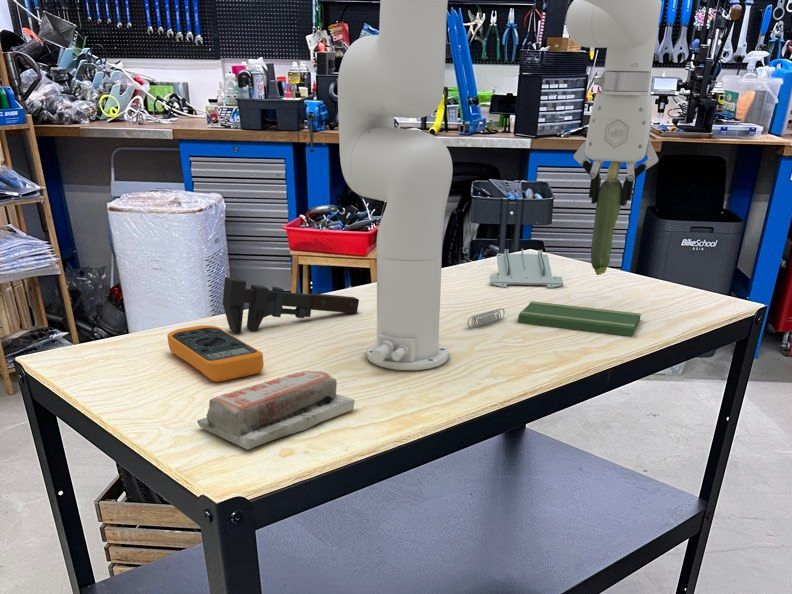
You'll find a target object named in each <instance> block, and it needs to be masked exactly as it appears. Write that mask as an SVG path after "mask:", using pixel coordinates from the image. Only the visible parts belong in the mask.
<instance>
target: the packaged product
mask: <svg viewBox="0 0 792 594" xmlns="http://www.w3.org/2000/svg"><path fill="white" fill-rule="evenodd" d="M337 383H338V382H337V379H336V378H334V377H333V376H331V375H330V374H329V373H328V372H326V371H322V370H321V371H320V370H319V371H314V370H313V371H312V370H303V371H298V372H295V373H291V374H286V375H285V376H281V377H277V378H274V379H271V380H267V381H264V382H260V383H256V384H254V385H250V386H247V387H243V388H241V389H237V390H234V391H231V392H226V393H223V394H220V395H217V396H214V397H212V398H211V399H209V405H208V409H207V413H206V415H205V416H206V417H203V418H200V419H198V420H197V425H198V426H199V427H200V428H201V429H203V430H205V431H207V432H209V433H212V434H214V435H215V436H218V437H219V438H221V439H223V440H226V441H228V442H230V443H232V444H234V445H237V446H238V447H240V448H243V449H244V450H247V451H249V450H251V449H253V448H256V447H258V446H262V445H264V444H266V443H270V442H272V441H274V440H277V439H280V438H283V437H286V436H289V435H292V434H296V433H299V432H302V431H306V430H308V429H310V428H312V427H314V426H315V425H317V424H319V423H321V422H324V421H327V420H330V419H332V418H335V417H338V416H340V415H343V414H346V413H349V412H351V411H353V410H354V406H355V401H356V400H355V399H353V398H351V397H347V396H344V395H342V394H337V385H338V384H337Z"/></svg>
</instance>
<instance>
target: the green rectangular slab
mask: <svg viewBox="0 0 792 594" xmlns="http://www.w3.org/2000/svg"><path fill="white" fill-rule="evenodd" d="M641 316H642V313H639V312H629V311H621V310H611V309H604V308H596V307H595V308H594V307H588V306H587V307H586V306H576V305H569V304H561V303H560V304H559V303H550V302H544V301H543V302H542V301H533V300H531V301H529V303H528V305H526V307H525V308H524V309H523V310H521V311H520V312H519V313H518V316H517V317H518V318H517V323H519V324H528V325H535V326H543V327H550V328H559V329H569V330H575V331H576V330H577V331H585V332H593V333H601V334H610V335H617V336H624V337H633V336H634V333H635V332H636V330H637V328H638V325H639V323H640V322H641Z"/></svg>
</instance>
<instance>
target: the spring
mask: <svg viewBox="0 0 792 594" xmlns="http://www.w3.org/2000/svg"><path fill="white" fill-rule="evenodd" d="M501 310H502V311H503V314H502V313H501V312H500V311H501ZM505 312H506V311H505V309H504V308H502V307H501V308H496V309H493V310H489V311H485V312H481V313H478V314H474V315H471V316H470V317H469V318H468V320H467V327H468V328H470V329H472V328H473V327H475V328H477V327H478V328H479V327H481V326H484V325H488V324H491V323H495V322H498V321H500V320H502V319H504V317H505V314H506V313H505ZM470 320H471V324H472V326H470Z"/></svg>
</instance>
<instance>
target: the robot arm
mask: <svg viewBox="0 0 792 594" xmlns="http://www.w3.org/2000/svg"><path fill="white" fill-rule="evenodd" d="M379 1H380V2H379V3H380V4H379V7H380V8H379V25H378V27H379V28H378V34H369V35H365V36H362V37H359V38H358V39H356V40H354V41H353V42H352V43H351V45H349V47H348V48H347V49H346V51H345V52H344V55H343V57H342V59H341V63H340V66H339V69H338V75H337V76H338V77H337V112H338V113H337V115H338V117H337V118H338V143H339V159H340V160H339V162H340V167H341V172H342V175H343V178H344V181H345V183H346V184H347V186H348V188H350V190H351V191H352V192H354V193H355V194H357V195H358V196H361V197H365V198H368V199H373V200H376V201H382V202H386V206H385V209H384V211H383V214H382V217H381V219H380V222H379V226H378V228H377V234H376V342H375V343H372V344H371V345H370V346H369V347H368V348H367V350H366V357H367V359H368V361H369V362H370V363H372V364H374V365H375V366H378V367H382V368H385V369H391V370H397V371H423V370H428V369H433V368H437V367H440V366H442V365H443V364H445V363H446V362H447V361H448V359H449V351H448V348H446V347H445V346H444V345H442V344H440V343H439V341H440V340H439V338H440V337H439V336H440V315H441V314H440V313H441V312H440V311H441V291H442V289H441V288H442V287H441V286H442V266H443V265H442V264H443V263H442V261H443V238H444V237H443V236H444V223H445V214H446V208H447V205H448V199H449V194H450V190H451V185H452V180H453V172H454V171H453V169H454V168H453V160H452V156H451V153H450V150H449V149H448V147H447V145H446V144H445V143H444V142H443V141H442V140H441V139H440V138H439V137H437V136H436V135H434V134H432V133H429V132H427V131H423V130H419V129H410V128H402V127H401V128H400V127H395V118H403V119H421V118H425V117H428V116H430V115H432V114H433V113H434V112H436V111H437V109H438V108H439V106H440V105H441V103H442V99H443V95H444V90H445V78H446V76H445V75H446V48H447V44H446V43H447V16H448V2H449V0H379ZM661 10H662V1H661V0H573V1H572V2H571V3H570V4H569V6H568V9H567V11H566V15H565V28H566V32H567V34H568V37H569V38H570V40H571V41H572V42H573V43H575V44H576V45H578V46H579V47H584V48H589V49H593V48H595V49H596V48H597V49H599V48H600V49H605V48H606V52H605V61H604V62H605V63H604V69H603V70H604V71H603V72H602V73H601V74H599V75H594V78H593V85H594V86H598V87H600V90H601V93H595V97H594V100H593V104H592V108H591V112H590V117H589V122H588V128H587V132H586V133H587V134H586V139H585V140H584V141H583V143H582V144H581V145H580V147H579V148H578V149H577V150H576V152H575V153H574V154H573V159H574V160H575V161H576V162H578V164H579V165H581V166H582V168H583V169H584V170H585V172H586V173H587V175H588V176H589V178H590V184H589V192H588V198H590V199H591V205H594V204H597V197H598V192H599V189H600V187H601V185H602V178H601V174H600V172H601V169H602V166H603V164H604V162H613V161H618V162H620V163H621V162H624V163H626V177H625V180H624V181H623V184H622V187H623V190H622V197H621V204H620V205H621V207H625V206H626V205H627V203H628V201H631V200H632V194H633V188H634V182H635V180H636V178H638V177H639V176H640V175H641V174H643V172H645V171H646V170H648V169H649V168H651V167H653V166H654V165H656V164H657V163H659V157H658V155H657V153H656V151H655V149H654V146H653V145H652V143H651V141H650V134H651V127H652V115H653V114H652V113H653V112H652V111H653V99H652V94H649V88H650V82H651V75H652V70H653V62H654V57H655V49H656V43H657V37H658V29H659V25H660V24H659V23H660V17H661ZM646 157H647V159H646V160H645V161H644V162H642V163H640V165H638V166H637V162H640V161H642V160H644V159H645V158H646ZM591 160H592V161H593V163H592V161H591Z"/></svg>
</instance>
